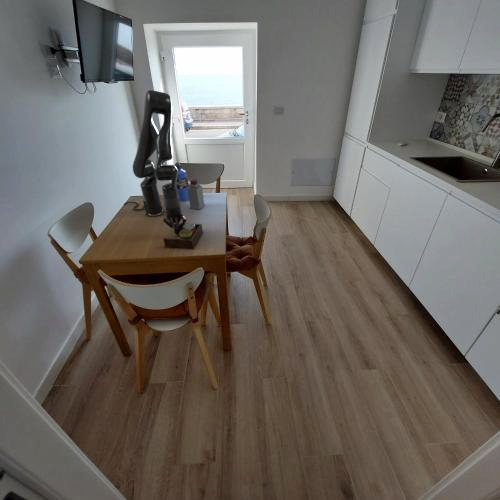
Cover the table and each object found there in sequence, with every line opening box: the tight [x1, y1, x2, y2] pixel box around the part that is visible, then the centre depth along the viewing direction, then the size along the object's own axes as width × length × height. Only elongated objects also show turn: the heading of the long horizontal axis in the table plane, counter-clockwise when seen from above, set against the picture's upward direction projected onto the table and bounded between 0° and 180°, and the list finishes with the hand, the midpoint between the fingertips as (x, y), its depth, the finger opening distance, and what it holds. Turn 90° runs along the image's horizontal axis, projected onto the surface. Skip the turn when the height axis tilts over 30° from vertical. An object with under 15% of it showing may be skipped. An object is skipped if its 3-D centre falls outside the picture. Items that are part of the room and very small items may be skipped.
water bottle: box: [174, 162, 189, 202], centre depth 184 cm, size 9×9×25 cm
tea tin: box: [179, 229, 192, 240], centre depth 140 cm, size 6×6×7 cm
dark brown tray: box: [163, 222, 204, 250], centre depth 144 cm, size 15×17×5 cm
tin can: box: [182, 223, 196, 237], centre depth 147 cm, size 7×7×6 cm
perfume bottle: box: [187, 178, 205, 210], centre depth 174 cm, size 7×7×18 cm
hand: (177, 234), depth 148 cm, fingers closed
